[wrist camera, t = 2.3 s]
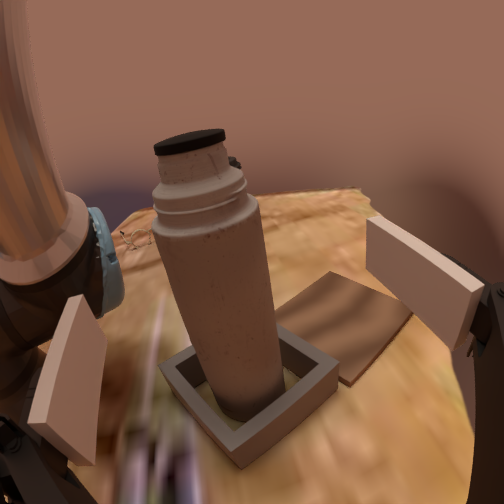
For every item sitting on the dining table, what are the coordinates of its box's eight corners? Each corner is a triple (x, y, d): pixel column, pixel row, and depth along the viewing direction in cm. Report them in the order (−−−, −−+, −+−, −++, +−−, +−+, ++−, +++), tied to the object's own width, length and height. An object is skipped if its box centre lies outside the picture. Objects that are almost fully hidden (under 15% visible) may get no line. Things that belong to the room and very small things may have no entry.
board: (258, 327, 42) (257, 322, 42) (330, 275, 50) (329, 270, 50) (349, 387, 31) (350, 382, 30) (413, 312, 39) (414, 307, 38)
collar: (163, 379, 36) (149, 354, 34) (246, 326, 43) (240, 299, 41) (241, 469, 24) (230, 451, 22) (337, 388, 31) (339, 361, 29)
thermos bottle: (205, 387, 34) (121, 148, 21) (260, 357, 37) (214, 122, 24) (239, 434, 28) (143, 153, 14) (299, 396, 31) (269, 121, 18)
